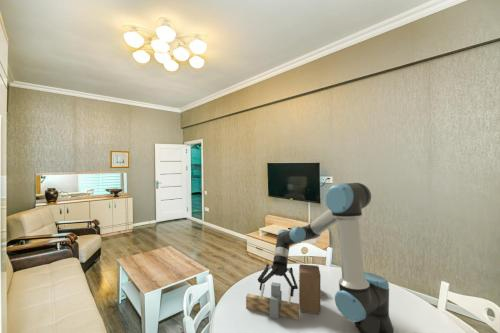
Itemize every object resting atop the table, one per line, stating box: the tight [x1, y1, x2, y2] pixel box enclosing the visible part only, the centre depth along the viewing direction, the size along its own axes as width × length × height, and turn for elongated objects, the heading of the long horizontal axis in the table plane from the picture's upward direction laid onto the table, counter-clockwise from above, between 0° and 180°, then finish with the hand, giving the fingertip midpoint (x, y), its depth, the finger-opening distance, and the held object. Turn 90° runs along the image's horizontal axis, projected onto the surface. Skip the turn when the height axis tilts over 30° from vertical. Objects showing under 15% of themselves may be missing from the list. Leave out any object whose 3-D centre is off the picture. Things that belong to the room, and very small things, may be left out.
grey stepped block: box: [269, 281, 283, 320], centre depth 111 cm, size 8×4×14 cm, turn 161°
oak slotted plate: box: [245, 293, 300, 320], centre depth 112 cm, size 26×2×6 cm, turn 71°
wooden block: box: [298, 263, 321, 315], centre depth 115 cm, size 10×10×20 cm
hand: (274, 300), depth 109 cm, fingers open, 13 cm apart
